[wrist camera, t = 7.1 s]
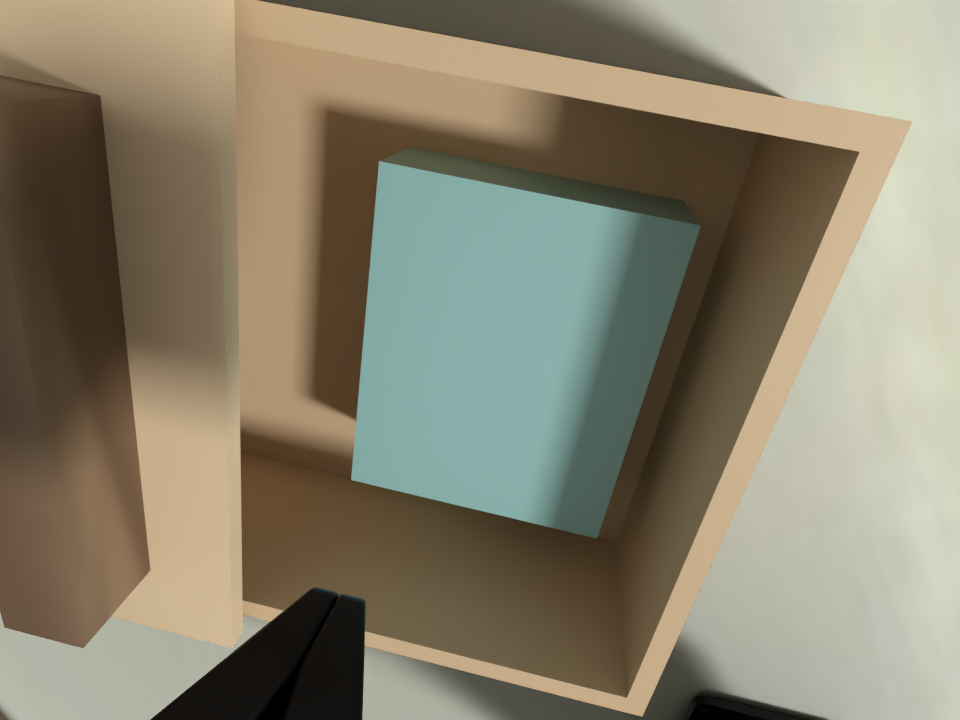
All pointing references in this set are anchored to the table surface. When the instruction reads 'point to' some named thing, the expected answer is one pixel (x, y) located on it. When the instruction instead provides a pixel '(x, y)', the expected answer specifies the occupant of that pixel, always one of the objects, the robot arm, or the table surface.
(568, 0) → the table surface
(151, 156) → the mailer lid
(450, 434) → the mailer box
